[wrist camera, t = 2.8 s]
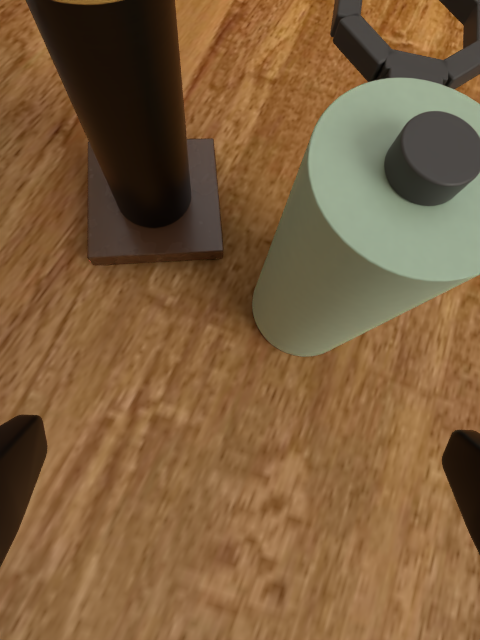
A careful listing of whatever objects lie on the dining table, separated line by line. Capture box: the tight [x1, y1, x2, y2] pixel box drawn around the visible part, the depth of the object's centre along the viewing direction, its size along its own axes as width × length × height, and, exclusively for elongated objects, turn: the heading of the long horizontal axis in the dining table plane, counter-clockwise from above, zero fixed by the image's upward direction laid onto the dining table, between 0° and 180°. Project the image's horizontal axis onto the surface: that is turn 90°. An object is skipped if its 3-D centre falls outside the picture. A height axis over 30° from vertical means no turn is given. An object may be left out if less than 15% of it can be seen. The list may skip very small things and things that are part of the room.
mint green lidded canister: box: [252, 0, 480, 356], centre depth 17 cm, size 13×6×14 cm, turn 171°
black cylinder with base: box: [26, 0, 223, 265], centre depth 15 cm, size 8×8×18 cm
